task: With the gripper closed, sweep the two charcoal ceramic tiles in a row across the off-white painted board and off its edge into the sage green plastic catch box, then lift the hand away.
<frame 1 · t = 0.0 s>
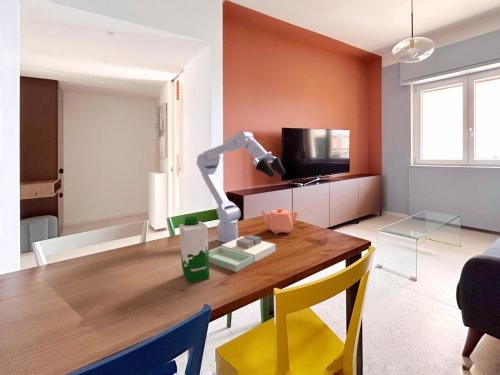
hand: (278, 174, 106), 32 cm above the table, tool tilted 50°, fingers open, 7 cm apart
board: (248, 251, 113), on the table
tile 1: (245, 246, 111), point 3 cm above the table, touching board
milk carton: (196, 277, 92), on the table
tile 2: (252, 242, 115), point 3 cm above the table, touching board
catch box: (227, 261, 103), on the table
teapot: (278, 231, 140), on the table
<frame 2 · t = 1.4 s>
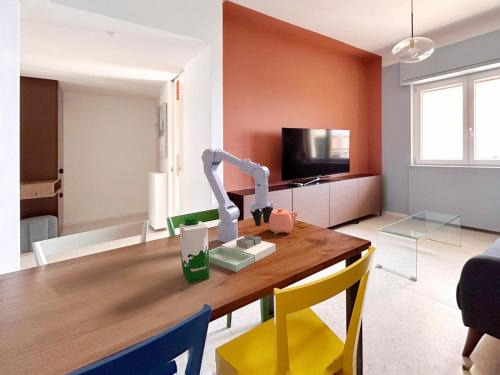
hand: (262, 224, 119), 9 cm above the table, tool pointing down, fingers open, 5 cm apart
nothing on the table moved.
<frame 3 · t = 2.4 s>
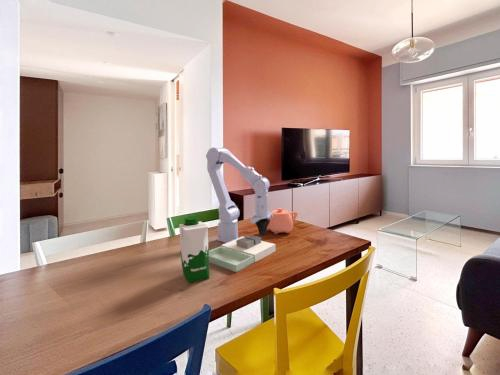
hand: (262, 235, 120), 4 cm above the table, tool pointing down, fingers closed
nothing on the table moved.
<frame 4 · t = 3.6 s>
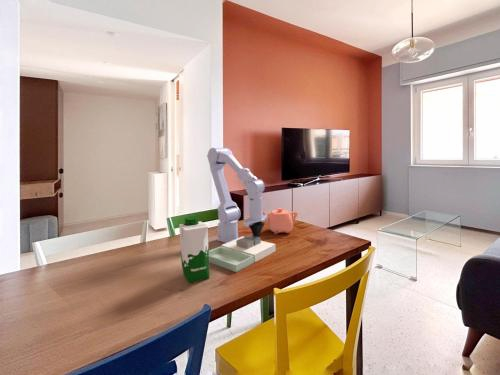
hand: (256, 238, 117), 4 cm above the table, tool pointing down, fingers closed
tile 2: (252, 242, 115), point 3 cm above the table, touching board, gripper
everything else where it was.
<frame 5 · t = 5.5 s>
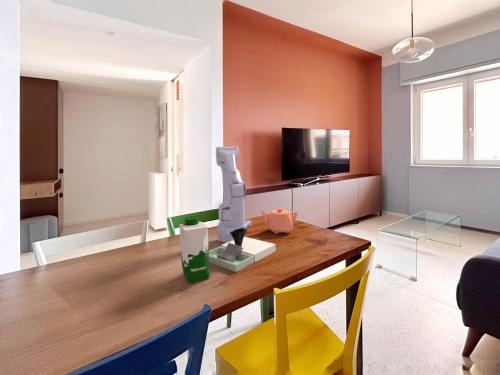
hand: (238, 246, 108), 4 cm above the table, tool pointing down, fingers closed
tile 1: (226, 255, 102), point 3 cm above the table, tilted 180°, touching catch box, tile 2
tile 2: (235, 251, 106), point 3 cm above the table, tilted 49°, touching tile 1, gripper
everything else where it was.
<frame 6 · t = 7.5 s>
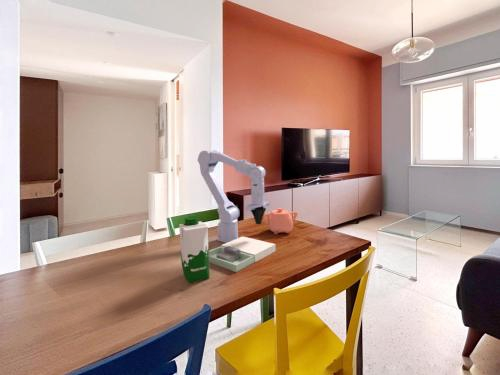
hand: (258, 223, 120), 9 cm above the table, tool pointing down, fingers closed
tile 1: (225, 255, 102), point 3 cm above the table, tilted 180°, touching catch box
tile 2: (233, 252, 106), point 2 cm above the table, tilted 90°, touching catch box
everything else where it was.
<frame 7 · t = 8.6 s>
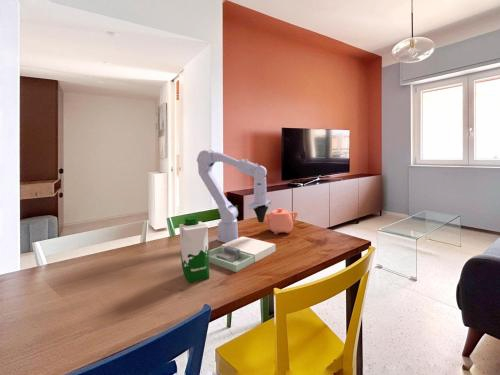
hand: (260, 221, 124), 9 cm above the table, tool pointing down, fingers closed
nothing on the table moved.
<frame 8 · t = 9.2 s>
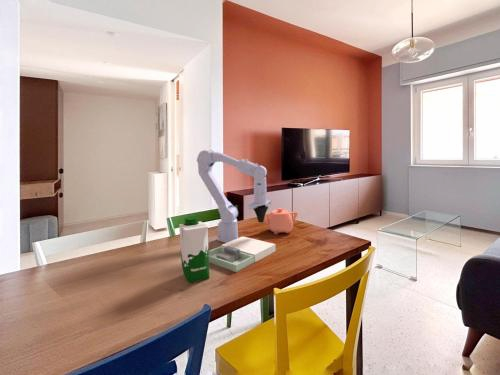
hand: (260, 221, 124), 9 cm above the table, tool pointing down, fingers closed
nothing on the table moved.
at the end: tile 2 inside the target area (3.5 cm from its centre), point 2.4 cm above the table; tile 1 inside the target area (1.1 cm from its centre), point 2.8 cm above the table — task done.
